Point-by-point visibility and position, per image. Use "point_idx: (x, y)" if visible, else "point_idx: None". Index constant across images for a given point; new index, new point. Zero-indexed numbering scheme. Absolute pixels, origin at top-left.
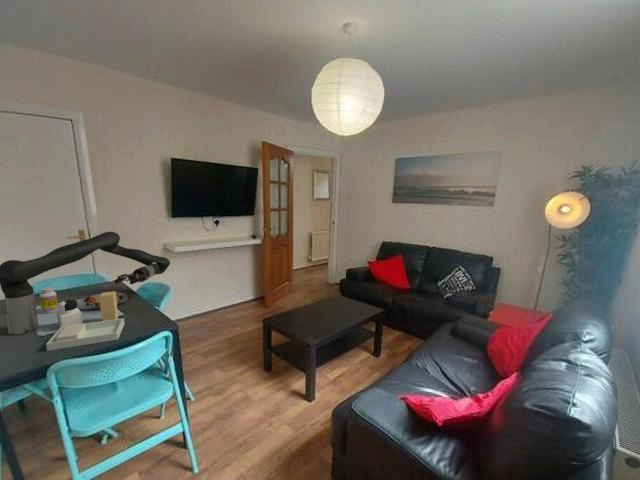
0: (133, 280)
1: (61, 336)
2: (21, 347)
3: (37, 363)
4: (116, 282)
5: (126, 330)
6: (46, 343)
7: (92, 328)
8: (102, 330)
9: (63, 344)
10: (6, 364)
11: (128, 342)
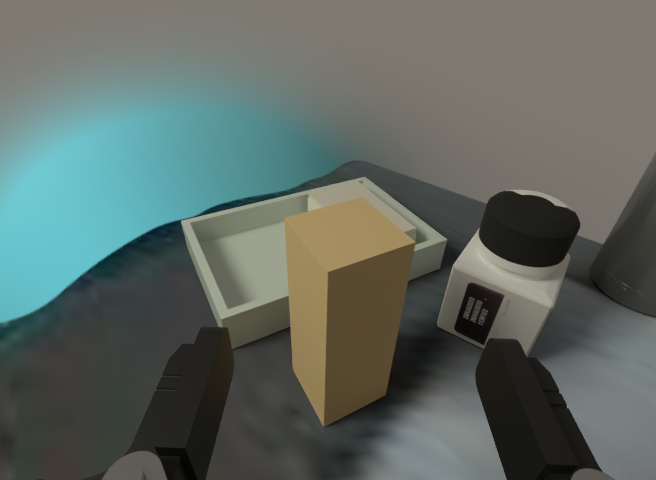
0: (184, 370)
1: (349, 185)
2: (469, 214)
3: (339, 179)
4: (480, 368)
5: (194, 313)
6: (365, 178)
7: None
8: None
9: None
10: (405, 176)
11: (146, 248)
